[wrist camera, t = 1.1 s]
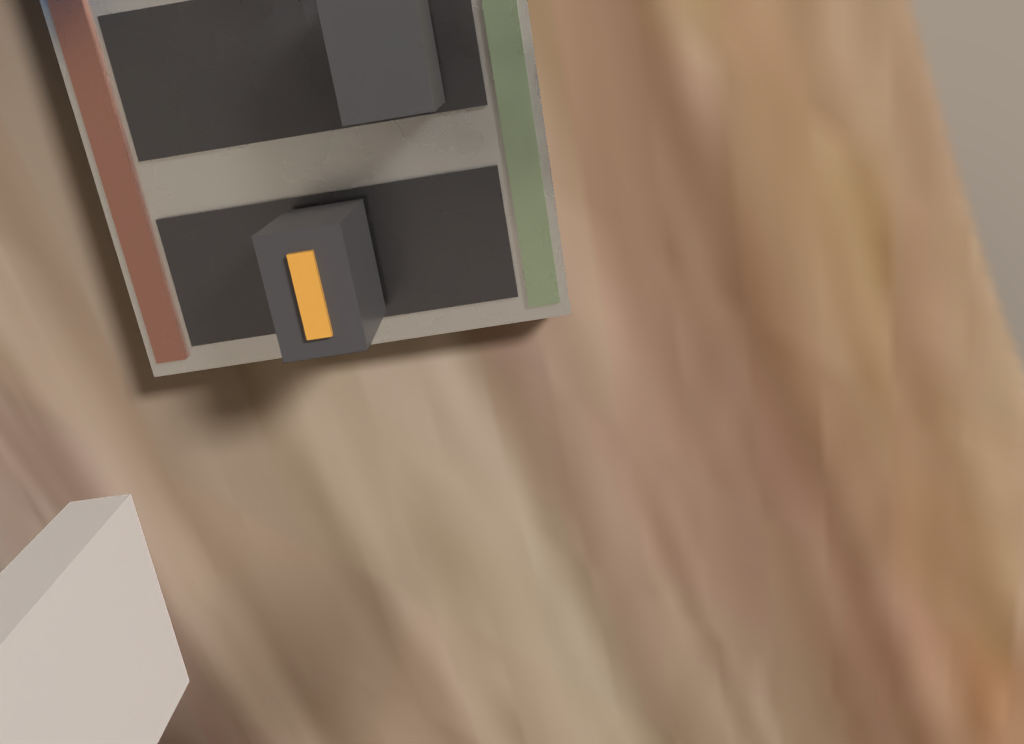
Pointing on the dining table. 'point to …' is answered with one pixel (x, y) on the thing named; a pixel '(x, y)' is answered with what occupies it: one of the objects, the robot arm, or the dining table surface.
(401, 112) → the block
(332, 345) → the breaker
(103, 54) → the panel
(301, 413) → the dining table surface
